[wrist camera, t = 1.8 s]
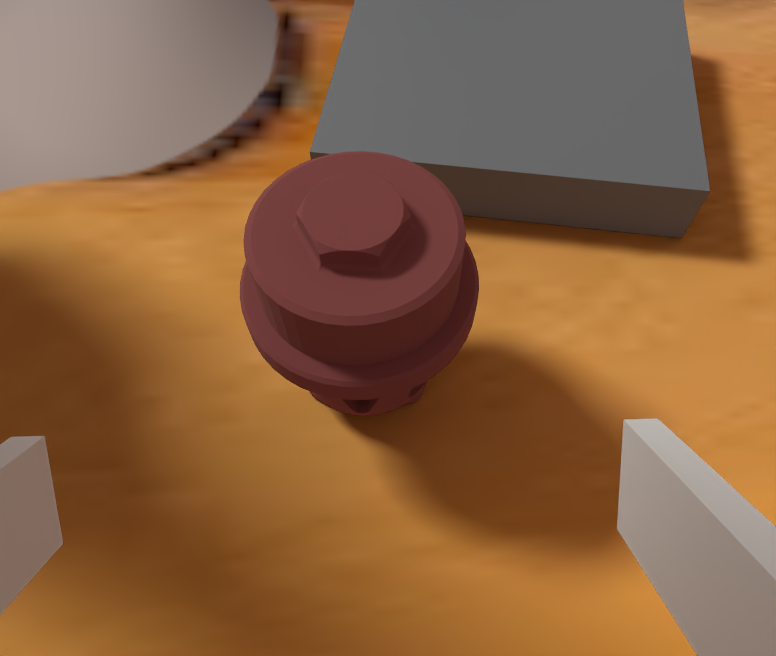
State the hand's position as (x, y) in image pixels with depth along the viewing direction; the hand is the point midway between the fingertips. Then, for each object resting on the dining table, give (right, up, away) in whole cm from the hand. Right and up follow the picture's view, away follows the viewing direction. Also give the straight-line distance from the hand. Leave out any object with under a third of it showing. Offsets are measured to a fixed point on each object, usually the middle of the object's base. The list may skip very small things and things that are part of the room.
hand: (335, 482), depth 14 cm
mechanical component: (0, +1, +19) cm, 19 cm away
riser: (+9, +18, +28) cm, 35 cm away
